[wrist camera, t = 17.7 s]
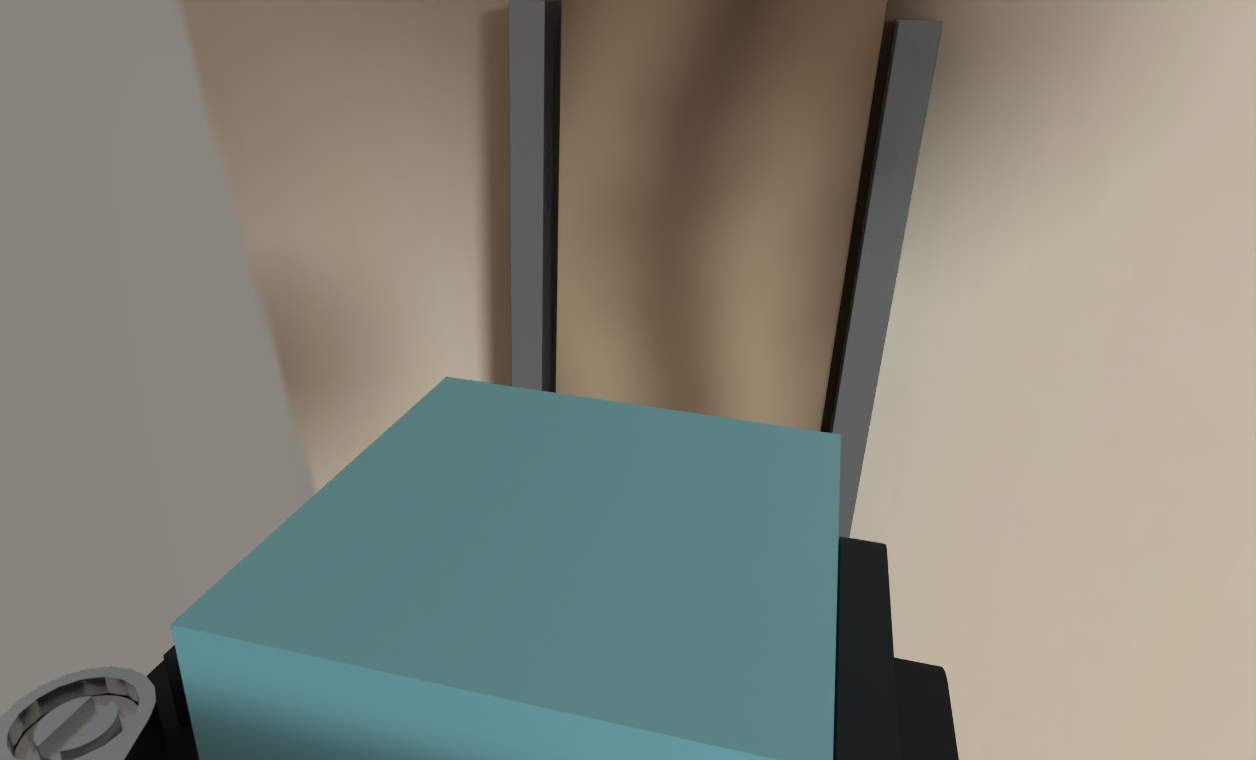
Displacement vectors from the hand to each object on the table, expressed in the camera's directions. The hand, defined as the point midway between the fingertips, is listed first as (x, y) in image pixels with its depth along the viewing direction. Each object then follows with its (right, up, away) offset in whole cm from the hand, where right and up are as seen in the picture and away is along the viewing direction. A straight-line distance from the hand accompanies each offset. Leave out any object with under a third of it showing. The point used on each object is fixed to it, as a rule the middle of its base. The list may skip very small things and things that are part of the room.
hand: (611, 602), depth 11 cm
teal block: (0, 0, +1) cm, 1 cm away
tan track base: (+3, +10, +18) cm, 21 cm away
